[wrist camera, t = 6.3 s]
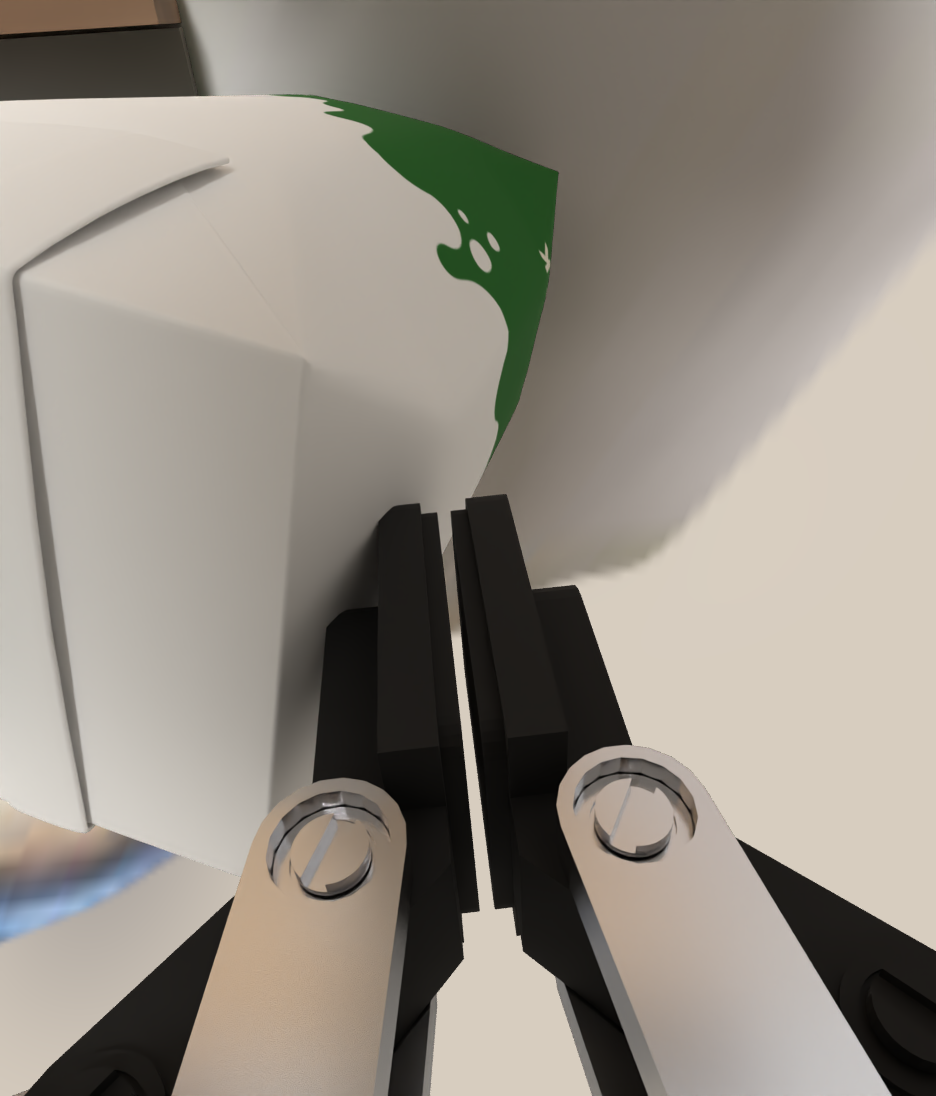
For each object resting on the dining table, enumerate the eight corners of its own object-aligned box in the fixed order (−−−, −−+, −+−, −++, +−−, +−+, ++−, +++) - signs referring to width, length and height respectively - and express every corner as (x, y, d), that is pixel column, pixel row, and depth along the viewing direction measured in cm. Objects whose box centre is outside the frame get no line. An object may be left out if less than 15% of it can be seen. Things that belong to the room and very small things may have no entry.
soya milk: (294, 65, 21) (-1131, -13, 4) (605, 144, 20) (276, 409, 4) (276, 360, 26) (-437, 847, 9) (527, 434, 25) (232, 1107, 9)
